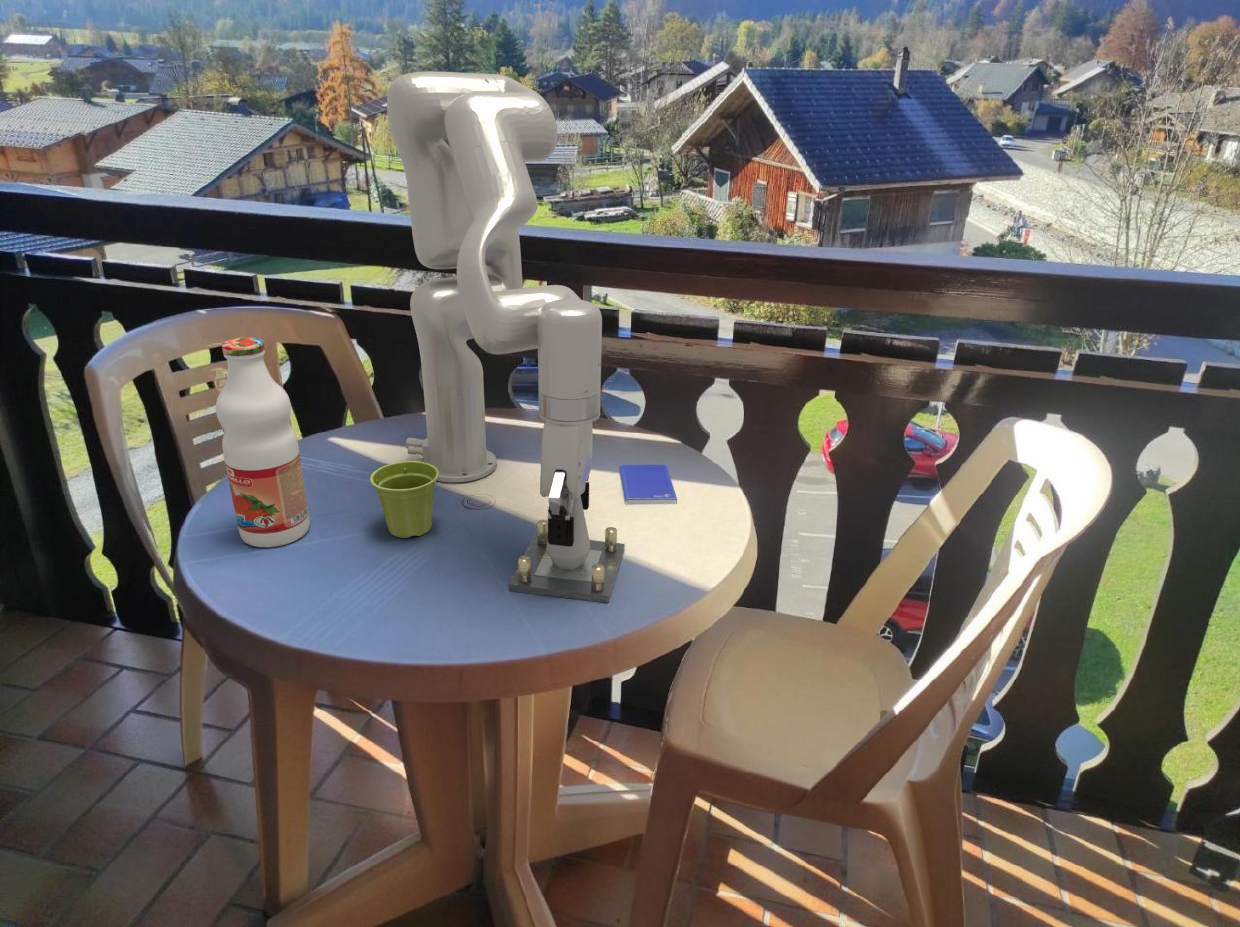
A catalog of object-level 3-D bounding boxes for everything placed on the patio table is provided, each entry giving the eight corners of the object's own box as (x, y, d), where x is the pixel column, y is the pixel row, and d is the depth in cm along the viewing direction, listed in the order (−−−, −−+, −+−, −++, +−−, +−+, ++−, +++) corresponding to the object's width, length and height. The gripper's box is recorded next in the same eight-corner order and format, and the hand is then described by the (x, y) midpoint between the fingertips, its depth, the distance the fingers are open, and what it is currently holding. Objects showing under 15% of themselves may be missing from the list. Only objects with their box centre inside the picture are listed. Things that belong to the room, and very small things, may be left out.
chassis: (508, 590, 104) (507, 564, 102) (534, 540, 115) (534, 515, 114) (608, 602, 102) (609, 576, 100) (624, 549, 114) (625, 525, 112)
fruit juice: (321, 534, 115) (293, 344, 103) (254, 556, 109) (216, 358, 97) (295, 509, 121) (265, 328, 109) (230, 529, 116) (191, 340, 104)
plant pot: (362, 537, 115) (355, 482, 111) (400, 508, 123) (395, 456, 119) (419, 550, 112) (414, 495, 108) (454, 519, 120) (451, 467, 116)
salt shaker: (541, 554, 110) (540, 468, 104) (580, 547, 112) (582, 462, 106) (555, 577, 105) (554, 487, 99) (596, 568, 107) (598, 480, 101)
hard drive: (677, 498, 126) (667, 464, 137) (625, 498, 125) (619, 464, 137) (676, 506, 127) (666, 472, 138) (625, 507, 126) (618, 472, 137)
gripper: (555, 377, 107) (556, 493, 114) (520, 427, 91) (523, 556, 99) (611, 382, 106) (608, 498, 113) (585, 433, 90) (584, 563, 98)
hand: (569, 525), depth 106 cm, fingers open, 9 cm apart
